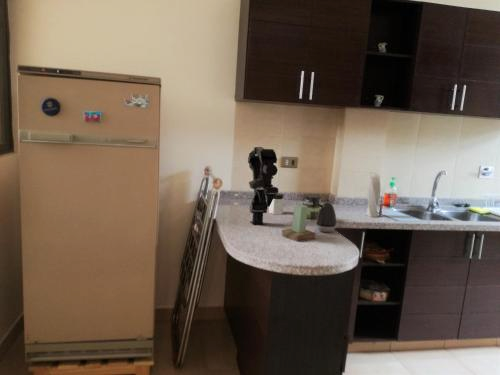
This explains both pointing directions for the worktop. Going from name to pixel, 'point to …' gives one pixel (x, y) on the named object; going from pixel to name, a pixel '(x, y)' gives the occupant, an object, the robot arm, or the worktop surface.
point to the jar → (277, 204)
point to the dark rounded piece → (326, 218)
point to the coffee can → (312, 206)
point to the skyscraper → (374, 197)
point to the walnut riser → (298, 235)
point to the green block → (299, 218)
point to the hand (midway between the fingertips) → (264, 204)
